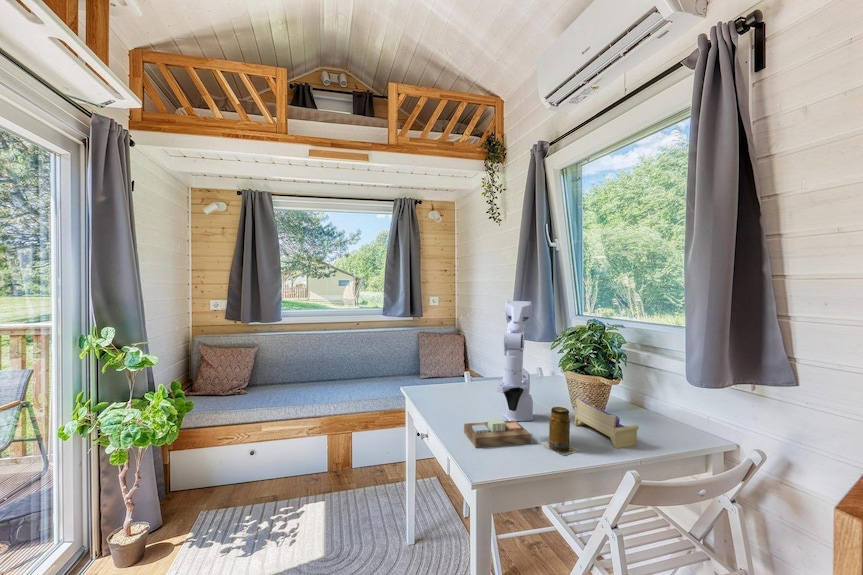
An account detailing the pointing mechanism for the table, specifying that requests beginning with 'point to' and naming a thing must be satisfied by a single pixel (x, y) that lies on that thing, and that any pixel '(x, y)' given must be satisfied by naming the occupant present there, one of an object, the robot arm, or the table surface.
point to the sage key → (496, 425)
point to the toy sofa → (605, 424)
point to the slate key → (480, 429)
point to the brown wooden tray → (497, 436)
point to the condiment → (560, 431)
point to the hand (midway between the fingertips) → (512, 410)
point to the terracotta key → (512, 426)
